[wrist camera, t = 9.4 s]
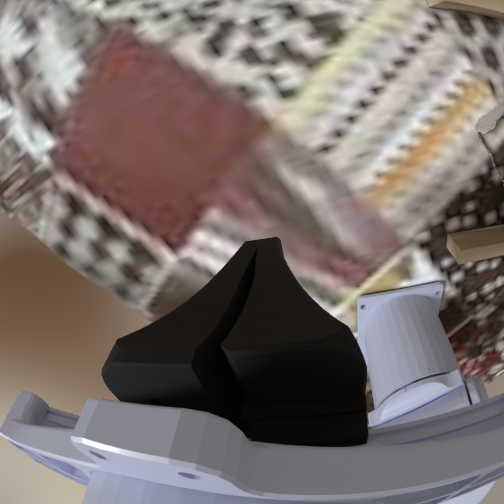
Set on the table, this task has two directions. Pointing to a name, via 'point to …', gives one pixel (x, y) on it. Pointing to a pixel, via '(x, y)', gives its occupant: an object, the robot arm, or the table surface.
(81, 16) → the table surface
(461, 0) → the frame
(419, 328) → the robot arm
